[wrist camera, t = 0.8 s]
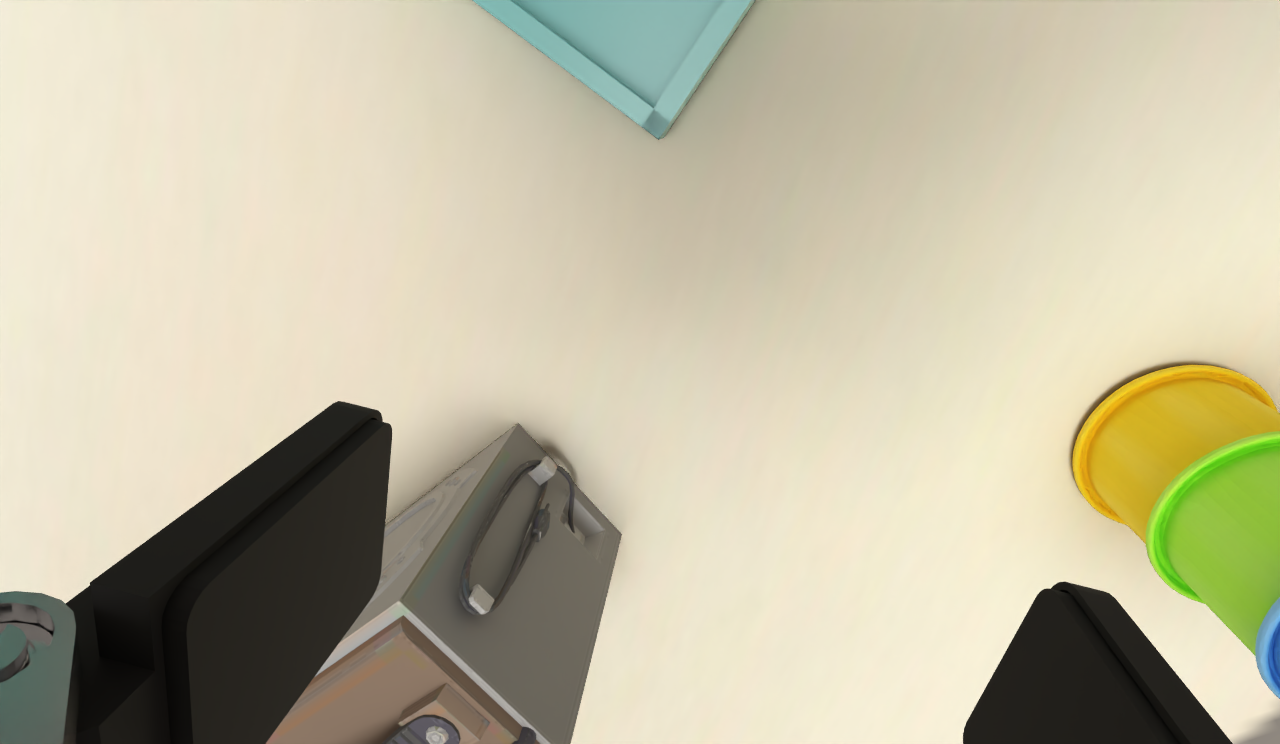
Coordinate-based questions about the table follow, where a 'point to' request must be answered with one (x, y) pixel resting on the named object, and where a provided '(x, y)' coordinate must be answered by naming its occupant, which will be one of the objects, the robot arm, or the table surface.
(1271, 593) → the stacking cups
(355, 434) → the robot arm
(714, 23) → the teal tray
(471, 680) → the grey portable radio
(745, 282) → the table surface
